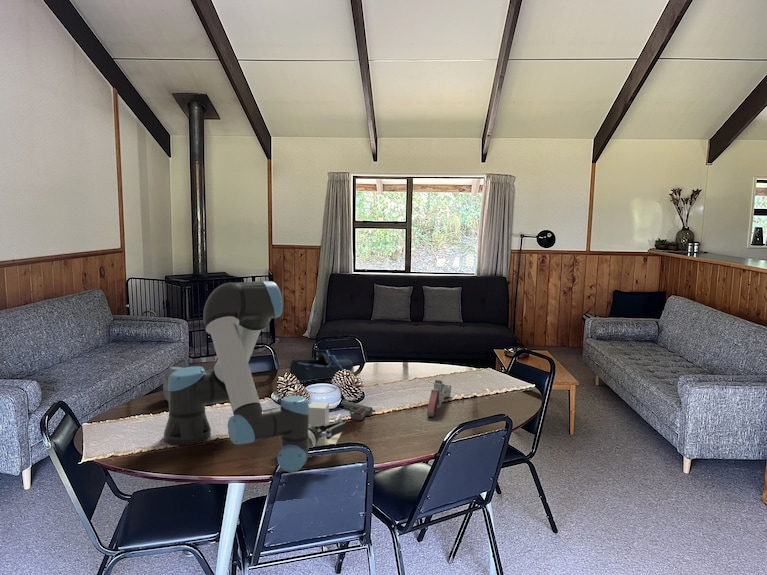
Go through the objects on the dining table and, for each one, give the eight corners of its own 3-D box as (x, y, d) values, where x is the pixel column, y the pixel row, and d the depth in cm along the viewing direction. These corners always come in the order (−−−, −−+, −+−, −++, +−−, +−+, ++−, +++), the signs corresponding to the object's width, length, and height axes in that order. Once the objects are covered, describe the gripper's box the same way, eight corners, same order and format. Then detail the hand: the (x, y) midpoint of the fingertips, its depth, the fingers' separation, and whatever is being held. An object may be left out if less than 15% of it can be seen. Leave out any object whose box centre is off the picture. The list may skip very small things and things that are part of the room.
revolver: (425, 415, 219) (429, 376, 222) (440, 420, 246) (444, 385, 249) (434, 416, 217) (438, 377, 221) (449, 421, 244) (452, 386, 248)
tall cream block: (324, 446, 187) (325, 408, 185) (307, 444, 187) (307, 407, 186) (328, 439, 192) (328, 402, 191) (311, 438, 193) (311, 401, 192)
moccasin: (360, 374, 282) (360, 350, 281) (303, 387, 258) (303, 361, 257) (341, 368, 292) (342, 346, 291) (285, 380, 268) (285, 356, 266)
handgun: (323, 412, 225) (343, 405, 235) (360, 422, 214) (379, 414, 224) (323, 405, 225) (343, 398, 235) (360, 415, 214) (379, 407, 224)
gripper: (263, 449, 172) (283, 425, 193) (345, 454, 169) (356, 429, 190) (262, 425, 171) (283, 403, 192) (345, 430, 168) (357, 407, 189)
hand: (319, 416), depth 191 cm, fingers open, 13 cm apart
